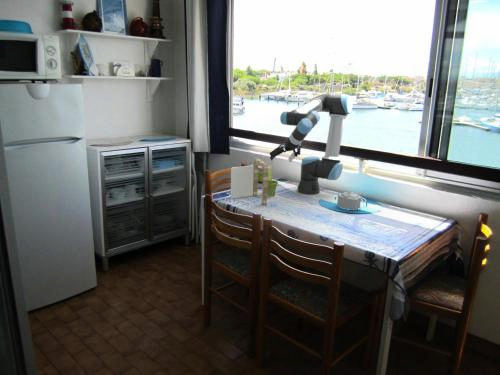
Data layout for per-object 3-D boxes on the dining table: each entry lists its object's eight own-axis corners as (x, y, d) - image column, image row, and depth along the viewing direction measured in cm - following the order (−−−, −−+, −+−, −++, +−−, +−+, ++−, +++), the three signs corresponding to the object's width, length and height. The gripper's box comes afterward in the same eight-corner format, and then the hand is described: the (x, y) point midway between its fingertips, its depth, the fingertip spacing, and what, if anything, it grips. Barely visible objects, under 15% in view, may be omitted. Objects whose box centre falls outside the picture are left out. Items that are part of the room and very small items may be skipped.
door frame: (266, 204, 242) (268, 164, 235) (263, 205, 241) (264, 165, 234) (256, 194, 261) (257, 157, 254) (252, 195, 260) (253, 157, 253)
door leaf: (231, 198, 250) (231, 167, 245) (229, 196, 253) (229, 166, 247) (252, 195, 257) (253, 165, 251) (250, 194, 259) (251, 165, 254)
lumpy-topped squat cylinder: (353, 211, 234) (355, 197, 231) (333, 206, 242) (334, 192, 239) (361, 207, 241) (363, 193, 239) (342, 203, 249) (343, 189, 247)
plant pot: (276, 197, 256) (276, 184, 254) (261, 196, 258) (262, 183, 256) (278, 193, 265) (278, 180, 263) (264, 192, 267) (264, 179, 265)
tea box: (246, 187, 278) (246, 166, 274) (250, 183, 287) (251, 163, 283) (267, 189, 274) (268, 168, 270) (271, 185, 283) (271, 165, 279)
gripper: (277, 146, 221) (263, 167, 238) (315, 144, 232) (299, 164, 249) (273, 135, 224) (259, 157, 241) (310, 134, 236) (295, 154, 252)
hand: (279, 161), depth 245 cm, fingers open, 13 cm apart
